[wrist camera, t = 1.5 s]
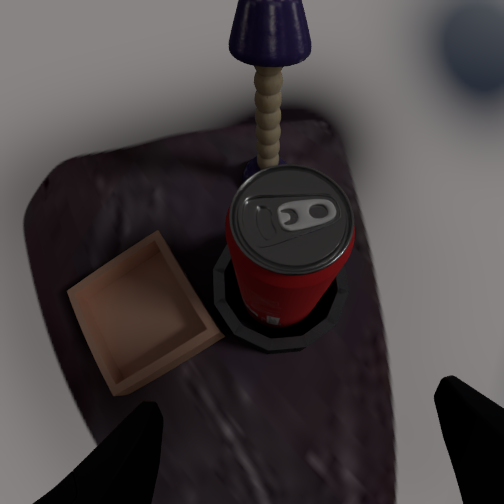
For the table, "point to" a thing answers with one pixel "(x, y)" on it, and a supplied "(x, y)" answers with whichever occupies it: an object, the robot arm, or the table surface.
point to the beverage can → (287, 241)
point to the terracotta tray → (141, 315)
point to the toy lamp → (269, 64)
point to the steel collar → (221, 284)
